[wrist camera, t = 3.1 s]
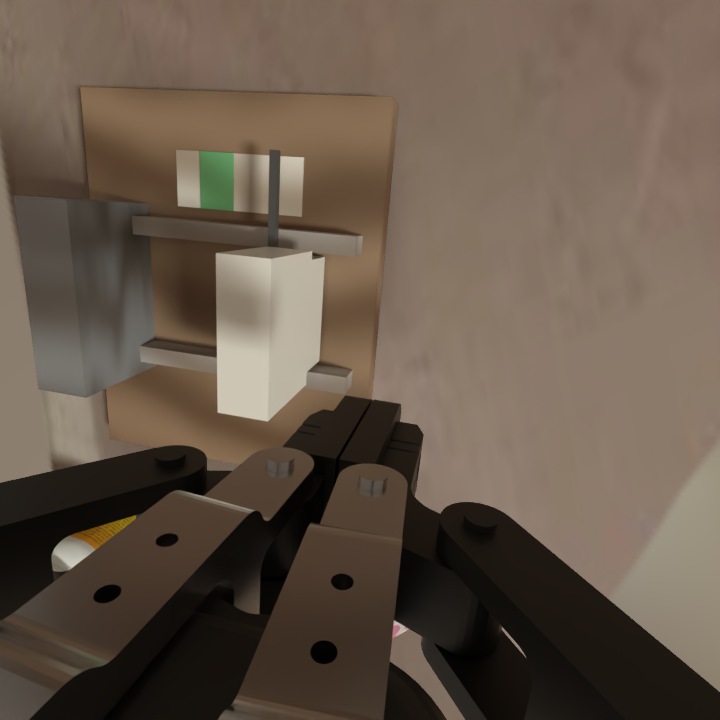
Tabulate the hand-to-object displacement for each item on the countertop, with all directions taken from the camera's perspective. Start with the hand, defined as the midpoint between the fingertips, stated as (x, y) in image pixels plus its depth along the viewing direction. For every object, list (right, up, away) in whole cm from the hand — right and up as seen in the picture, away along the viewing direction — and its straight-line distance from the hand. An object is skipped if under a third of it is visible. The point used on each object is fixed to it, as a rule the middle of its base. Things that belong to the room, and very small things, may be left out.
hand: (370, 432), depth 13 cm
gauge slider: (-4, +7, +14) cm, 16 cm away
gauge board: (-8, +6, +17) cm, 20 cm away
